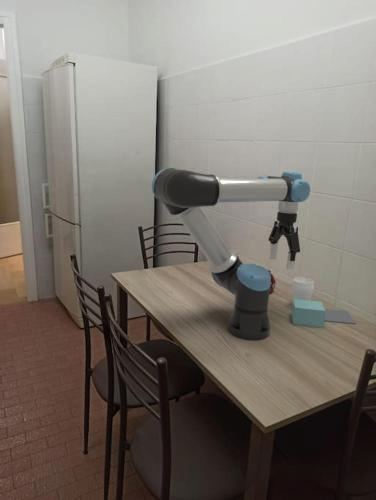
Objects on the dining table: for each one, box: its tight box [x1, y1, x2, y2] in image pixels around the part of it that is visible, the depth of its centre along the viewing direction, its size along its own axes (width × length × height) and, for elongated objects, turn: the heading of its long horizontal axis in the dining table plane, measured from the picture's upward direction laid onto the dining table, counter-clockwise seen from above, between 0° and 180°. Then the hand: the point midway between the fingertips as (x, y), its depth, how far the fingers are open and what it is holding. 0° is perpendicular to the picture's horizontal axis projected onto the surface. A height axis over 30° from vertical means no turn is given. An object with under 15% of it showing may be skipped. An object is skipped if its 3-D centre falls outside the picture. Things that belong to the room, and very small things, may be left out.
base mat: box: [324, 308, 357, 325], centre depth 147 cm, size 12×12×1 cm
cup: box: [291, 276, 315, 303], centre depth 154 cm, size 9×9×12 cm
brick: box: [290, 299, 326, 328], centre depth 141 cm, size 9×11×7 cm
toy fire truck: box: [267, 269, 276, 295], centre depth 170 cm, size 7×12×10 cm, turn 96°
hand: (280, 263), depth 148 cm, fingers open, 13 cm apart
